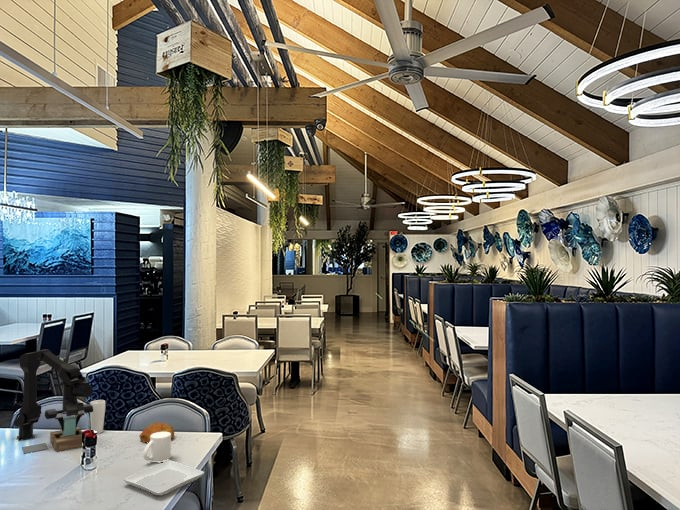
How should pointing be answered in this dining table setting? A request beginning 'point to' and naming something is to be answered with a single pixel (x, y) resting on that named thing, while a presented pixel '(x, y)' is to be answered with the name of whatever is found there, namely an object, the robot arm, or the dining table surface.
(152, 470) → the salad plate
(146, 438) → the croissant
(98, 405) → the drinking glass
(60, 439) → the crate
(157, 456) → the mug
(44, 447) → the mat
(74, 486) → the dining table surface
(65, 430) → the block
